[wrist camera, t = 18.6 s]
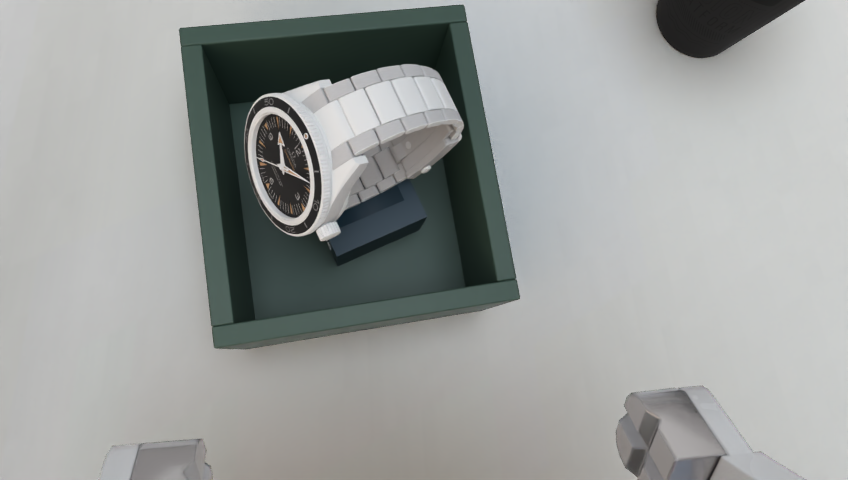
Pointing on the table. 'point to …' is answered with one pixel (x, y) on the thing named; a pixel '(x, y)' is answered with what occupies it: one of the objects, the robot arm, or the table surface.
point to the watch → (350, 155)
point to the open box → (308, 256)
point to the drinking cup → (715, 22)
